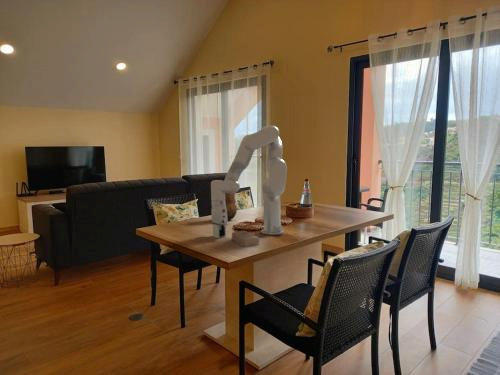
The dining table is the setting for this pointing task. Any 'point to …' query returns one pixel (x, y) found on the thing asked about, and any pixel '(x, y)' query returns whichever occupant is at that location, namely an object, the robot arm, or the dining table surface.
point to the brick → (245, 238)
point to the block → (217, 231)
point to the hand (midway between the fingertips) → (219, 235)
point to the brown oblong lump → (230, 205)
